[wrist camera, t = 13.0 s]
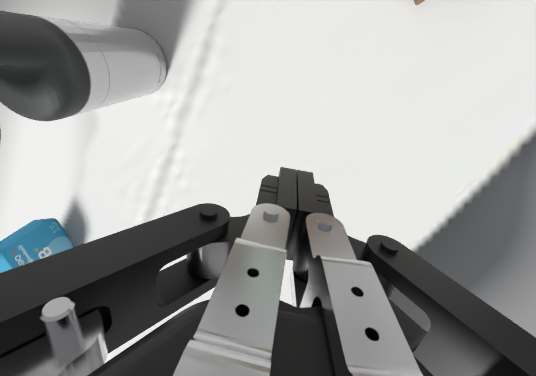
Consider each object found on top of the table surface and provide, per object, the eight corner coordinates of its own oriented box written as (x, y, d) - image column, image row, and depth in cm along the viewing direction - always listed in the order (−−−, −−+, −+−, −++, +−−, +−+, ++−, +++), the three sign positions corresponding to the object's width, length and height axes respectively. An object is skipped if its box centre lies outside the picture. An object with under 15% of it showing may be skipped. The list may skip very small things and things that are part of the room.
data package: (81, 258, 63) (37, 301, 52) (65, 259, 64) (18, 301, 53) (55, 215, 58) (0, 252, 47) (37, 217, 59) (-21, 253, 48)
